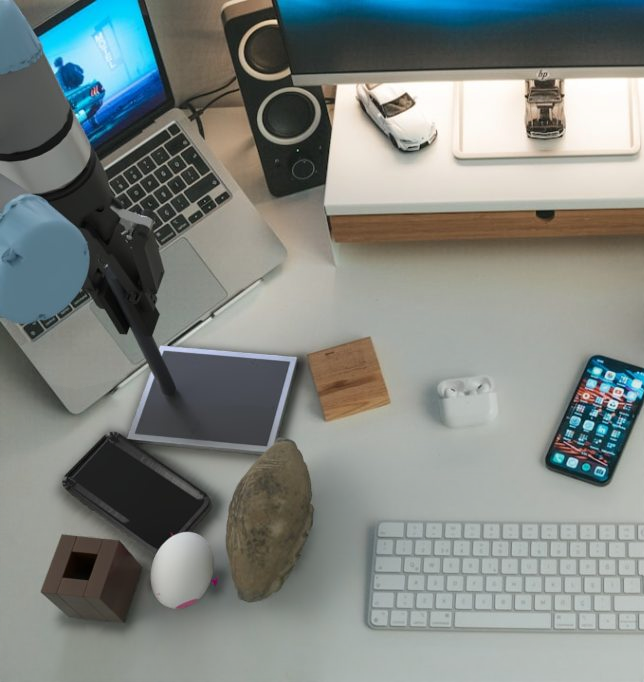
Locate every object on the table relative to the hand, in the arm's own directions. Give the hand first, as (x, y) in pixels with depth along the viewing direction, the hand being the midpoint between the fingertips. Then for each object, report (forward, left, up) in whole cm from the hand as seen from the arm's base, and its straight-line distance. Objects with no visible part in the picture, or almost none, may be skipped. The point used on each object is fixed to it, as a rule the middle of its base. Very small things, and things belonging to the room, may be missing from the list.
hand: (139, 323), depth 108 cm
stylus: (-1, 0, -13) cm, 14 cm away
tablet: (+4, 0, -14) cm, 15 cm away
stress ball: (+6, -21, -15) cm, 26 cm away
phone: (-1, -12, -14) cm, 19 cm away
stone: (+15, -15, -15) cm, 25 cm away
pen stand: (-1, -23, -14) cm, 27 cm away
